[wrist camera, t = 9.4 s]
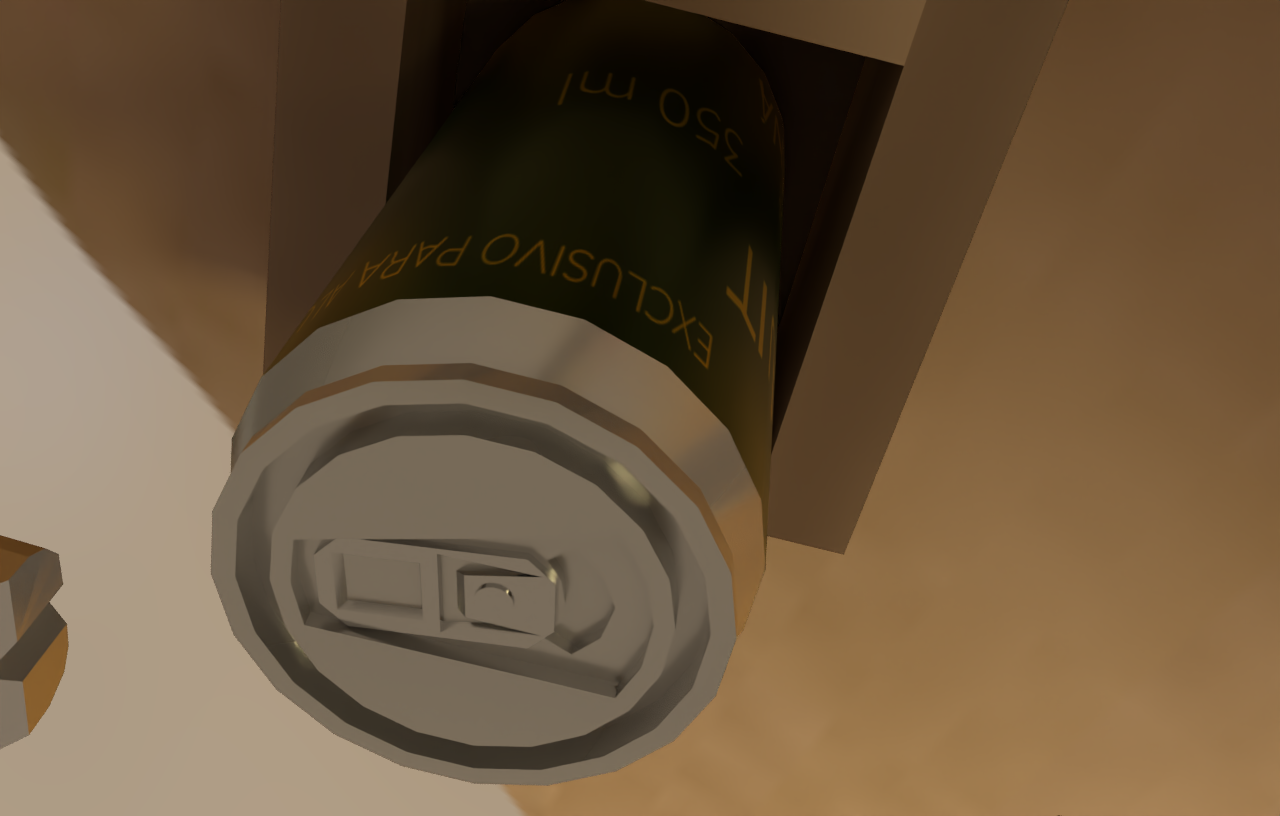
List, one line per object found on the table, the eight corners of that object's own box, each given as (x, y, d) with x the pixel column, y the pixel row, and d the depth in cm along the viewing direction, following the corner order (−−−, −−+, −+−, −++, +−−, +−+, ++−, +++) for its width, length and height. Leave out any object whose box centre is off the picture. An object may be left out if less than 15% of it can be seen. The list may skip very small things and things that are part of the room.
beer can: (481, 261, 23) (223, 764, 13) (475, -37, 20) (138, 319, 10) (768, 291, 23) (732, 833, 13) (806, -7, 20) (799, 392, 10)
